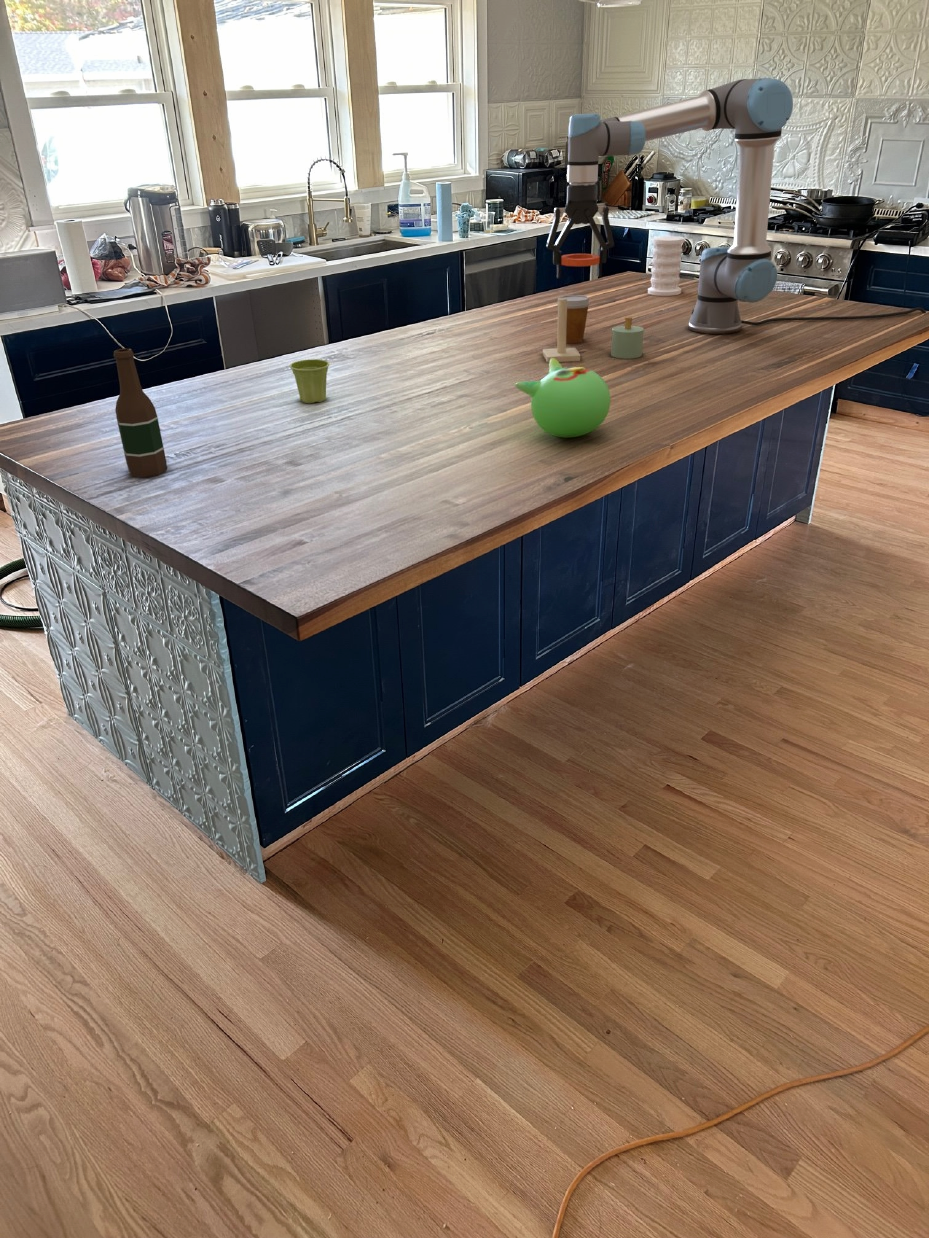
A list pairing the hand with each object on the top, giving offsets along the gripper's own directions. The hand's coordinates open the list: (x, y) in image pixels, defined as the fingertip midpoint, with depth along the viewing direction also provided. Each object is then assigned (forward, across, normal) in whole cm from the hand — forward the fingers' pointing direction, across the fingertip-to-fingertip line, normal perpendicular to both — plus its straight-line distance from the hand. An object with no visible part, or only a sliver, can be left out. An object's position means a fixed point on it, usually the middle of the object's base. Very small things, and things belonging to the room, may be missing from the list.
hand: (579, 277), depth 242 cm
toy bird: (+21, +12, +64) cm, 68 cm away
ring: (-3, 0, 0) cm, 3 cm away
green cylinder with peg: (+21, -14, 0) cm, 25 cm away
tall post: (+21, +4, 0) cm, 21 cm away
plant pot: (+21, +69, +30) cm, 78 cm away
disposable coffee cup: (+21, -2, -19) cm, 28 cm away
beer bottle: (+22, +98, +75) cm, 125 cm away
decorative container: (+21, -45, -84) cm, 98 cm away
